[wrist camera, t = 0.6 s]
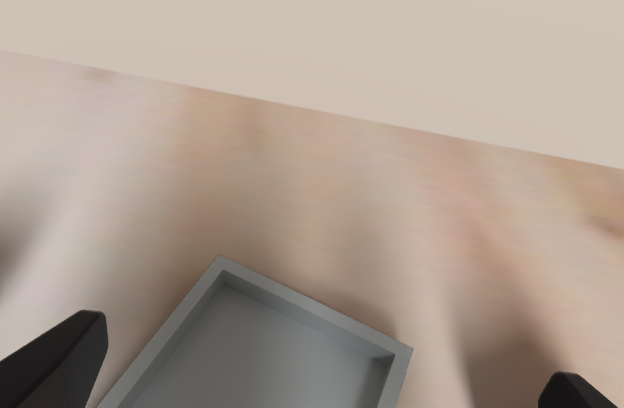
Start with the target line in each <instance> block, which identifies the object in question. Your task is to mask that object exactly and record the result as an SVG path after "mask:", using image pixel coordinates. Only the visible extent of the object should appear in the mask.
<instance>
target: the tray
mask: <svg viewBox="0 0 624 408" xmlns="http://www.w3.org/2000/svg"><path fill="white" fill-rule="evenodd" d="M413 349H414V348H412V347H409V346H407V345H405V344H403V343H401V342H399V341H397V340H395V339H393V338H391V337H389V336H387V335H385V334H383V333H381V332H379V331H377V330H374V329H372V328H370V327H368V326H366V325H364V324H362V323H360V322H358V321H356V320H354V319H352V318H350V317H348V316H346V315H344V314H341V313H339V312H337V311H335V310H333V309H331V308H329V307H327V306H325V305H323V304H321V303H319V302H317V301H315V300H313V299H311V298H308V297H306V296H304V295H302V294H300V293H298V292H296V291H294V290H292V289H290V288H288V287H286V286H284V285H282V284H280V283H278V282H276V281H273V280H271V279H269V278H267V277H265V276H263V275H261V274H259V273H257V272H255V271H253V270H251V269H249V268H247V267H245V266H243V265H240V264H238V263H236V262H234V261H232V260H230V259H228V258H226V257H224V256H222V255H220V254H219V255H218V256H217V257H216V259H215V260H214V261H213V262H212V264H211V265H210V266H209V267H208V269H207V270H206V271H205V272H204V274H203V275H202V276H201V277H200V279H199V280H198V281H197V282H196V284H195V285H194V286H193V287H192V289H191V290H190V291H189V292H188V294H187V295H186V296H185V297H184V299H183V300H182V301H181V302H180V304H179V305H178V306H177V307H176V309H175V310H174V311H173V312H172V314H171V315H170V316H169V317H168V319H167V320H166V321H165V322H164V324H163V325H162V326H161V327H160V329H159V330H158V331H157V332H156V334H155V335H154V336H153V337H152V339H151V340H150V341H149V342H148V344H147V345H146V346H145V347H144V349H143V350H142V351H141V352H140V354H139V355H138V356H137V357H136V359H135V360H134V361H133V362H132V364H131V365H130V366H129V367H128V369H127V370H126V371H125V372H124V374H123V375H122V376H121V377H120V379H119V380H118V381H117V382H116V384H115V385H114V386H113V387H112V389H111V390H110V391H109V392H108V394H107V395H106V396H105V397H104V398H103V400H102V401H101V402H100V403H99V405H98V406H97V407H96V408H395V405H396V402H397V399H398V395H399V392H400V389H401V386H402V383H403V380H404V377H405V374H406V370H407V367H408V364H409V361H410V358H411V355H412V352H413Z"/></svg>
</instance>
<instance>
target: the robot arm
mask: <svg viewBox="0 0 624 408" xmlns="http://www.w3.org/2000/svg"><path fill="white" fill-rule="evenodd" d="M107 349H108V334H107V325H106V317H105V314H104V313H103V312H100V311H93V310H81V311H78V312H77V313H75V314H73V315H72V316H70V317H69V318H67V319H66V320H64V321H62V322H61V323H59V324H58V325H56V326H55V327H53V328H51V329H50V330H48V331H47V332H45V333H44V334H42V335H40V336H39V337H37V338H36V339H34V340H33V341H31V342H29V343H28V344H26V345H25V346H23V347H22V348H20V349H18V350H17V351H15V352H14V353H12V354H11V355H9V356H8V357H6V358H4V359H3V360H1V361H0V408H85V406H86V404H87V401H88V399H89V396H90V394H91V391H92V388H93V386H94V383H95V381H96V378H97V376H98V373H99V371H100V368H101V366H102V363H103V361H104V358H105V356H106V353H107ZM538 408H618V407H617V406H615V405H614V404H613V403H612V402H611V401H610V400H608V399H607V398H606V397H605V396H604V395H602V394H601V393H600V392H599V391H598V390H597V389H595V388H594V387H593V386H592V385H591V384H589V383H588V382H587V381H586V380H585V379H584V378H582V377H581V376H580V375H578V374H575V373H569V372H561V371H558V372H555V373H554V374H553V375H552V376H551V378H550V380H549V381H548V383H547V385H546V386H545V388H544V389H543V391H542V393H541V394H540V396H539V400H538Z"/></svg>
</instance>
